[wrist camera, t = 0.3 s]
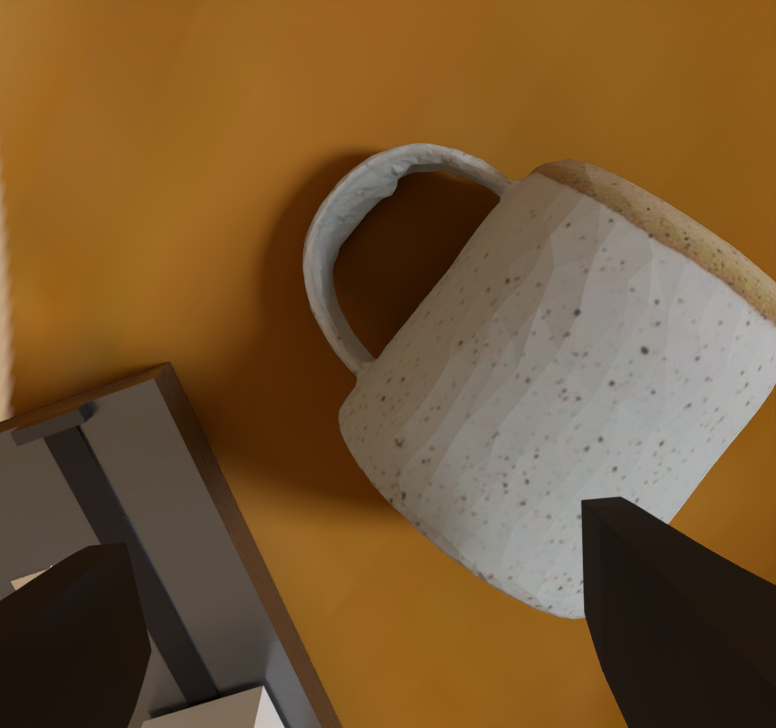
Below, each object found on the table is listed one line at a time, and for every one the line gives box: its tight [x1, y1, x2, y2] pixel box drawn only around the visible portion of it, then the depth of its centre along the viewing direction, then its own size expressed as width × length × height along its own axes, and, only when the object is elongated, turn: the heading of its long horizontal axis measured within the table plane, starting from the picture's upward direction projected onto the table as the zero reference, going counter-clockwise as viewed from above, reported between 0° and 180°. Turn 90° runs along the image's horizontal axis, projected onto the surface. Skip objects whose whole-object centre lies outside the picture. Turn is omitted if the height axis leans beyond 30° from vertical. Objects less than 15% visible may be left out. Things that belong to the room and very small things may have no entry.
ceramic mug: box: [303, 143, 776, 619], centre depth 17 cm, size 11×8×8 cm
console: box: [0, 362, 342, 728], centre depth 23 cm, size 20×13×2 cm, turn 20°
